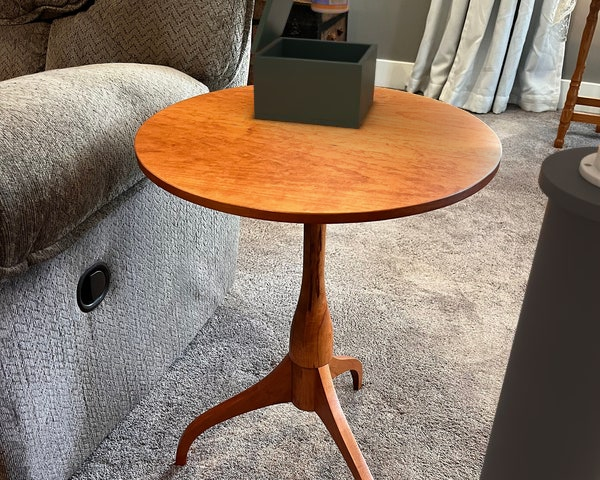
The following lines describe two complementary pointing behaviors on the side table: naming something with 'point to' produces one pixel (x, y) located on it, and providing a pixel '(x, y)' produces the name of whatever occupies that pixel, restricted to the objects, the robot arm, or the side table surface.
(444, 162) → the side table surface
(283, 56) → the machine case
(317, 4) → the pill bottle
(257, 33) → the case lid
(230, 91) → the side table surface
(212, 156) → the side table surface
